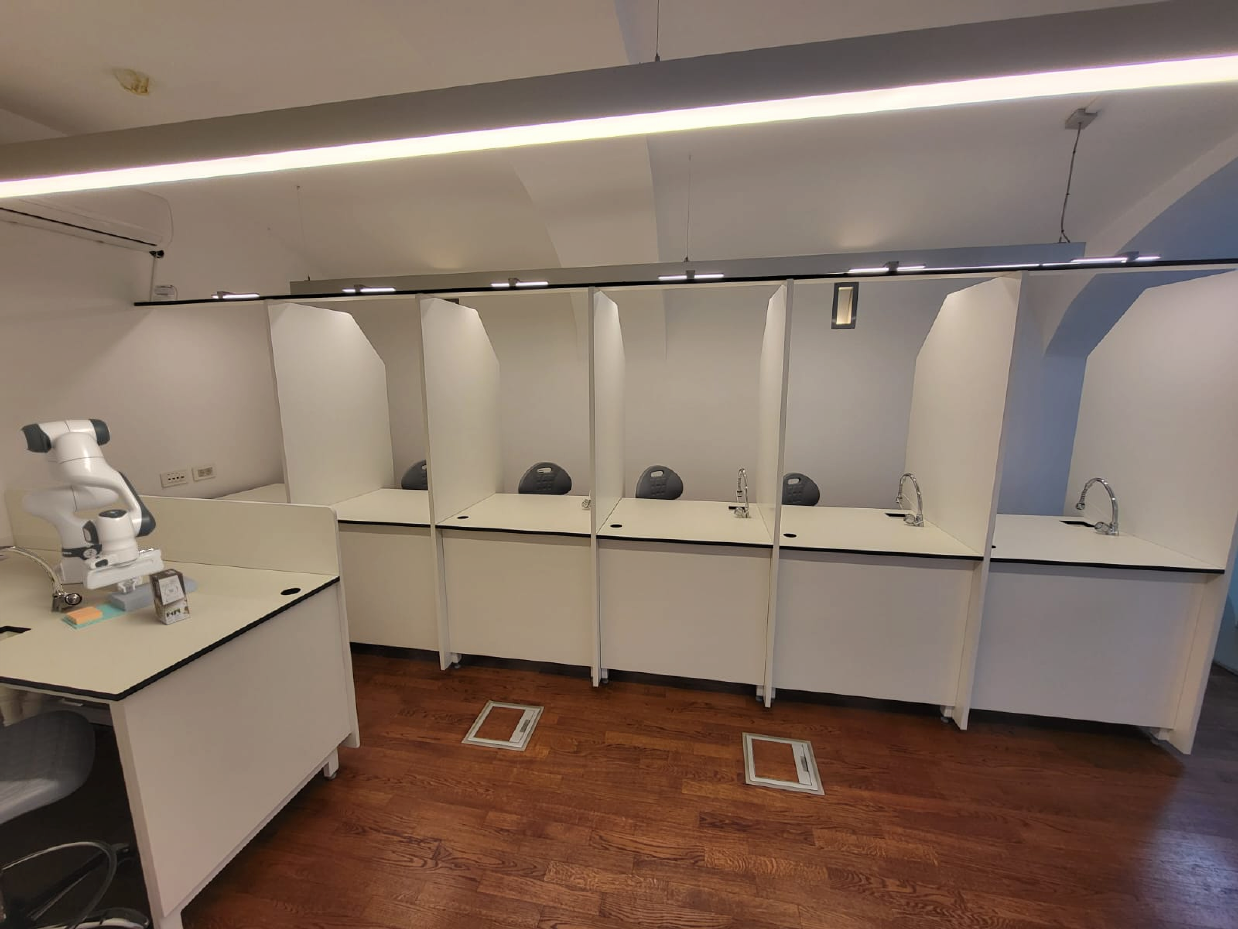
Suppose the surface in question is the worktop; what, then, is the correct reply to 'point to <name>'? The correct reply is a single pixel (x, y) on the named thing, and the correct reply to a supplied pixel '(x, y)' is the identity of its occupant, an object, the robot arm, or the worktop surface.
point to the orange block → (84, 615)
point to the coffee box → (169, 596)
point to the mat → (107, 613)
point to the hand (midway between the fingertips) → (129, 591)
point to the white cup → (128, 582)
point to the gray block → (142, 596)
